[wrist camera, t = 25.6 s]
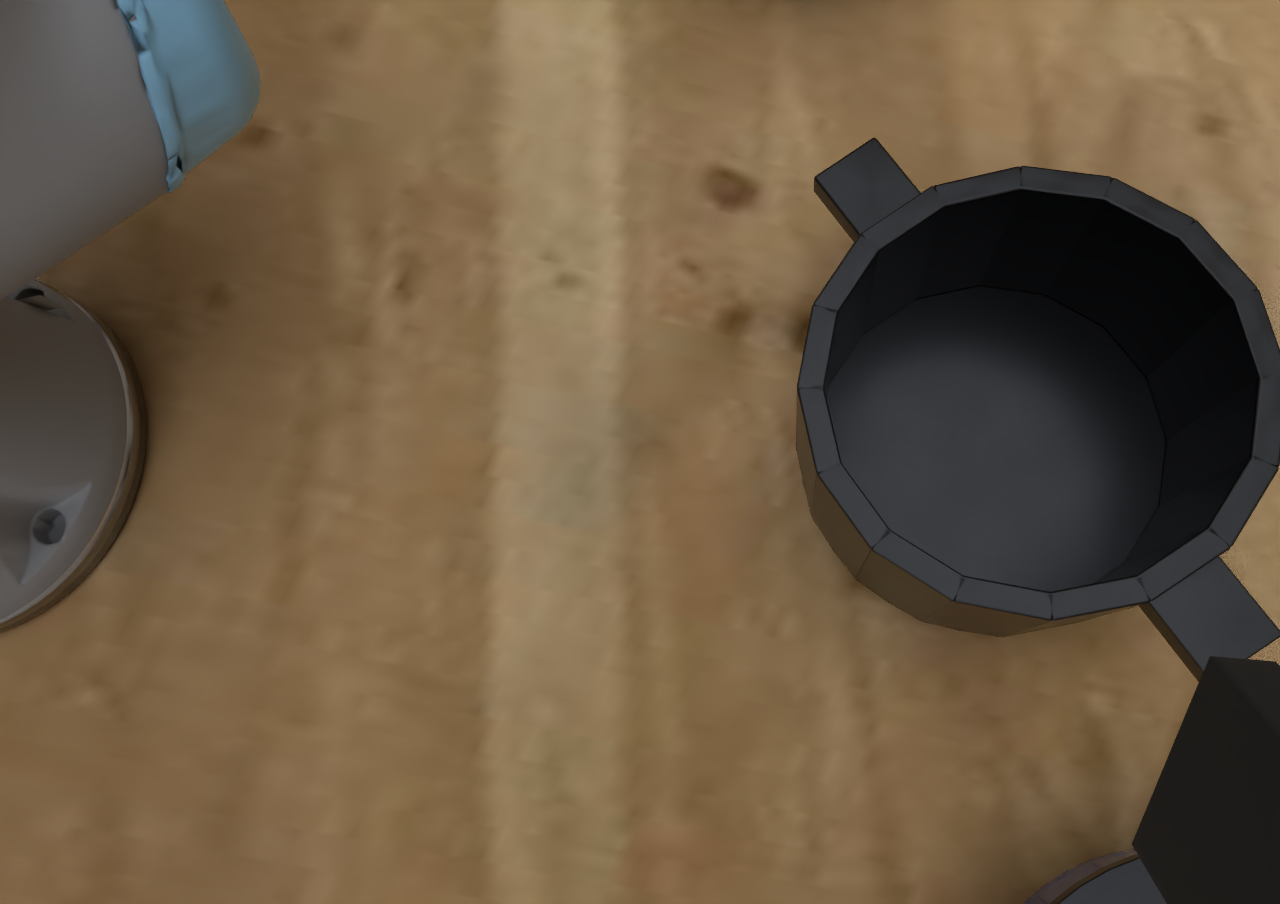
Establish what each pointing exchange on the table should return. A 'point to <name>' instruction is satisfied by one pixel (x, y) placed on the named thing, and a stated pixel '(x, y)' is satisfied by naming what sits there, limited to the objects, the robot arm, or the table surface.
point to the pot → (1038, 405)
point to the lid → (1114, 886)
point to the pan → (1074, 877)
